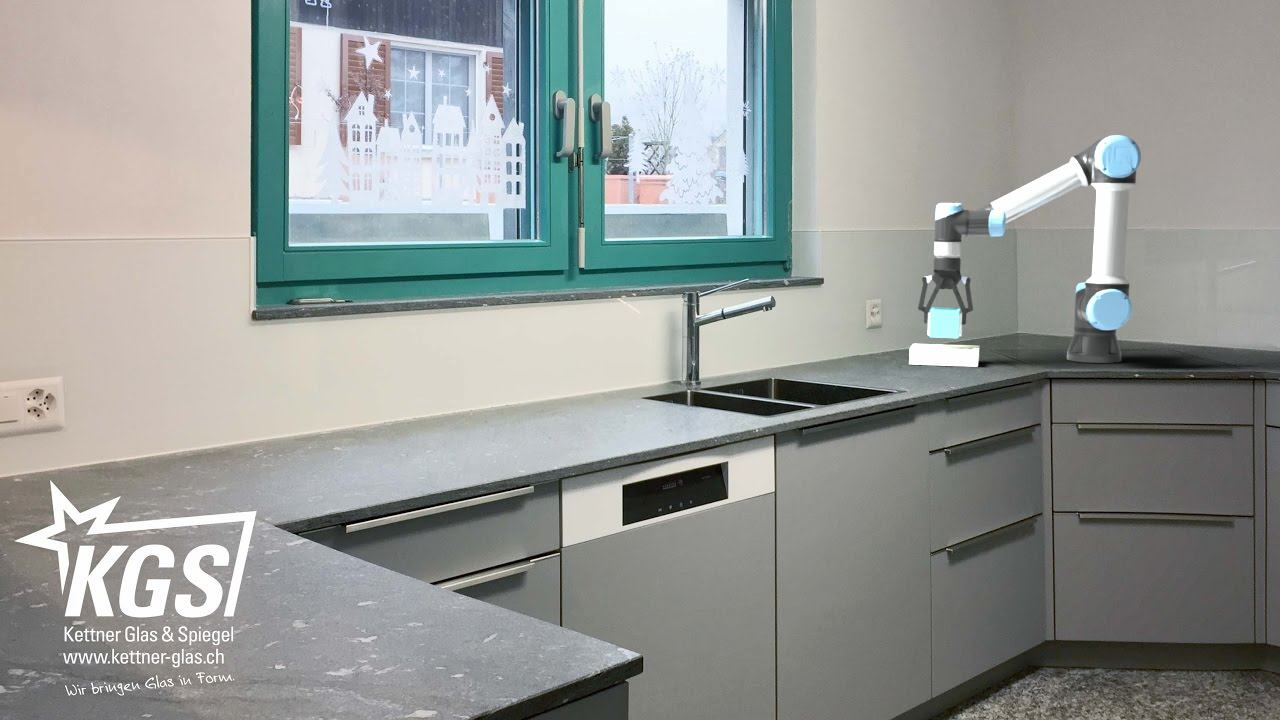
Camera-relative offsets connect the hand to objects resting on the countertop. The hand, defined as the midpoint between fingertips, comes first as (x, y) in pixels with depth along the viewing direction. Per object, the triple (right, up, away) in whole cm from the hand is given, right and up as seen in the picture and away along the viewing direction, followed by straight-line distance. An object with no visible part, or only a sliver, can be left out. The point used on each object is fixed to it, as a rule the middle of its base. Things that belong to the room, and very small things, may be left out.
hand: (944, 335), depth 351 cm
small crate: (0, 0, 0) cm, 0 cm away
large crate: (0, -8, +1) cm, 8 cm away
